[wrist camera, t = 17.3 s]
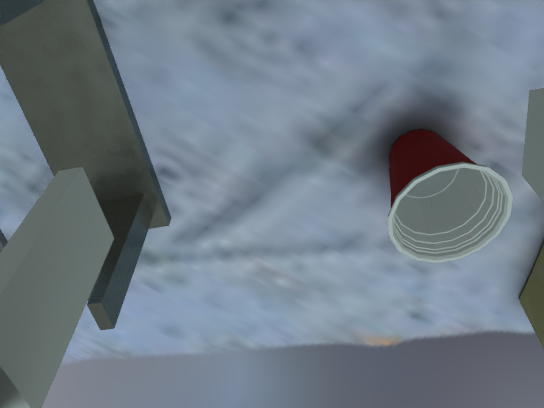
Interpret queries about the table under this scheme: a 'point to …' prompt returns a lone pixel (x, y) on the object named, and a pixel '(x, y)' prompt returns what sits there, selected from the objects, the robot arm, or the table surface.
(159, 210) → the grey notched post stand
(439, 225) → the plastic cup
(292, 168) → the table surface
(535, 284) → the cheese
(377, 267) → the table surface
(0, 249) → the plate with green blocks
